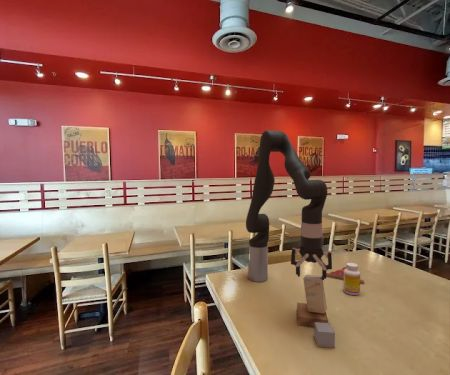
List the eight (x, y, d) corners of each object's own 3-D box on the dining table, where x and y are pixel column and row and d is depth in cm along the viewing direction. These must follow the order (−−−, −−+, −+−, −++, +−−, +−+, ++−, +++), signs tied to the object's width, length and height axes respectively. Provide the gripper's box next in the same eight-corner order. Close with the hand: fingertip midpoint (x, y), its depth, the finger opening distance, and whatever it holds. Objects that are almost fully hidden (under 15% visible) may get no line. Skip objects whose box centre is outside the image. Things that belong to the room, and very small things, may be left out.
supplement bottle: (361, 296, 112) (362, 267, 111) (345, 295, 113) (346, 266, 112) (357, 289, 118) (357, 262, 118) (341, 288, 120) (342, 261, 119)
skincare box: (307, 311, 94) (302, 279, 94) (310, 306, 98) (305, 274, 98) (325, 313, 91) (319, 279, 91) (328, 308, 95) (322, 275, 95)
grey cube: (318, 346, 81) (318, 331, 80) (314, 336, 86) (314, 322, 85) (334, 348, 80) (335, 332, 80) (329, 337, 85) (330, 323, 85)
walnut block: (297, 327, 92) (298, 316, 91) (297, 312, 101) (297, 302, 101) (327, 331, 89) (328, 320, 89) (323, 315, 99) (324, 305, 99)
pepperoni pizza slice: (323, 273, 133) (331, 261, 150) (323, 277, 133) (330, 265, 150) (364, 281, 123) (367, 268, 140) (364, 286, 123) (367, 272, 140)
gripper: (290, 235, 93) (289, 278, 94) (332, 238, 87) (331, 285, 89) (292, 230, 100) (292, 271, 101) (332, 233, 94) (331, 276, 96)
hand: (310, 277), depth 95 cm, fingers open, 8 cm apart
